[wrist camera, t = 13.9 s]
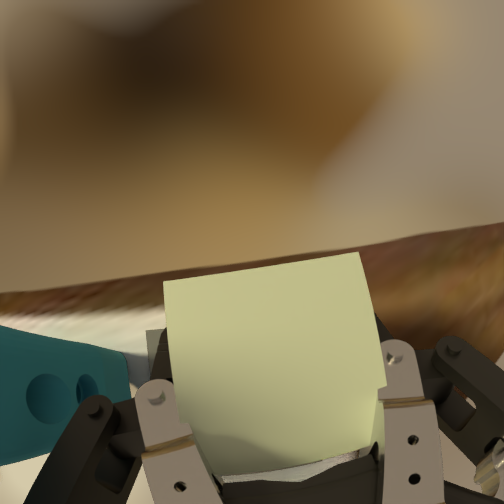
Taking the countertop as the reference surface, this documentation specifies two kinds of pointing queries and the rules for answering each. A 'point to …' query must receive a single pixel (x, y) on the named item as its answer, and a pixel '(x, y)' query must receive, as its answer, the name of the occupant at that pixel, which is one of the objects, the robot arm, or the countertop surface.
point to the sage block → (275, 362)
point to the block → (50, 388)
